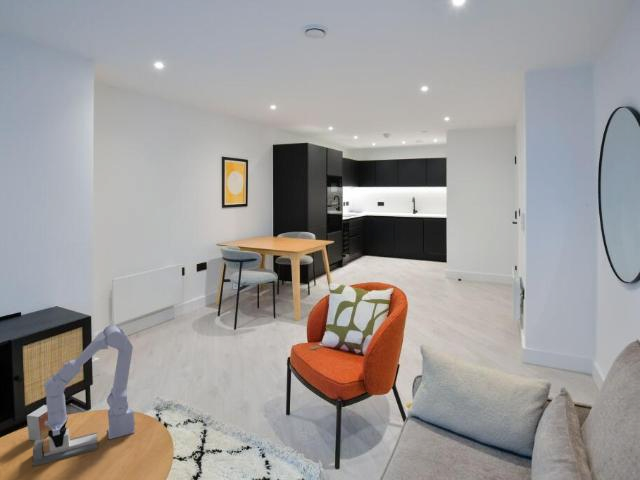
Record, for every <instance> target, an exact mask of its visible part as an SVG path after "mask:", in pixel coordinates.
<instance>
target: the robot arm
mask: <svg viewBox="0 0 640 480" xmlns="http://www.w3.org/2000/svg"><path fill="white" fill-rule="evenodd" d="M108 346H109V347H111V348H114V349H116V350H117V351H118V352H117V359H116V364H115V372H114V378H113V385H112V387H111V388H110V389H111V390H110V393H109V395H108V396H107V399H106V403H107V405H108V406H109V408H108V411H107V417H108V428H107V431H108V432H107V433H108V434H107V435H108V440H112V439H116V438H119V437H123V436H127V435H131V434H134V433H135V431H136V430H135V428H136V427H135V425H136V421H135V413H134V407H129V403H128V393H127V388H128V380H129V374H130V369H131V367H130V366H131V361H132V355H133V349H134V348H133V344H132V343H131V341H130V339H129V338H128V336H127V334H126V333H125V332H124V331H123V329H121V328H120V326H118V325H114V324H110V325H107V326H106V327H104V329H103V330H102V331H100V332H99V333H98V335H97V336H96V337H95V338H94V339H93V340H92V341H91V342H90V343H89V344H88V345H87V346H86V348H84V350H83V351H82V352H81V353H80V354H79V355H78V356H77V357H76V358H75V359H71V360H68V362H64V363H63V364H62V367H61V368H60V369H59V370H58V371H57V372H56V373H54V374H52V375H51V377H49V378H48V379H46V381H45V383H44V386H43V387H44V391H45V394H46V395H45V396H46V398H45V399H46V405H47V412H48V421H46V422H45V426H47V425H49V427H50V428H51V429H52V430H49V431H48V435H49V436H50V437H51V438H52V440H53V442H54V445H55V447H56V448H57V447H61V446H62V445H63V438H64V434H65V432H66V429H68V427H66V425H67V423H68V420H69V419H68V415H67V406H66V395H65V393H64V392H65V390H66V386H68V385H69V384H70V383H71V381H72V380H73V379H74V378H76V377H77V376H78V375H79V374H80V373H81V371H83V370H82V369H83V365H84V364H85V363H87V362H88V361H89V360H90V359H91V358H92V357H93V356H94V355H95V354H96V353H97V352H99V351H100V350H108V349H109V347H108ZM49 436H48V437H49Z"/></svg>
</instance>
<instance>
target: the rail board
mask: <svg viewBox="0 0 640 480" xmlns="http://www.w3.org/2000/svg"><path fill="white" fill-rule="evenodd" d="M44 440H45V439H41V440H37V441H34V444H33V448H32V457H33V460H32V461H33V463H32V467H36V466H40V465H44V464H47V463H51V462H55V461H58V460H62V459H66V458H69V457H73V456H77V455H80V454H83V453H88V452H91V451H96V450H98V432H97V431H96V432H93V433H89V434H85V435H81V436H78V437H73V438H70V444H69V447H67V448H64V449H60V450H56V451H52V452H50V451H48V452H44V453H43V444H44Z"/></svg>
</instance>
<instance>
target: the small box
mask: <svg viewBox="0 0 640 480" xmlns="http://www.w3.org/2000/svg"><path fill="white" fill-rule="evenodd" d="M26 421H27V423H26V424H27V431H28V433H27V434H28V440H30V441H34V442H35V441H37V440H41V439H44V440H46V438H48V437H49V435H48V431H49V430H52V429H51V428H50V427H49V425H47V426H45V422H46V421H48V412H47V404H43V405H42V406H40V407H39V408H37V409H36V410H34V411H32V412H31V413H29V414H27V415H26Z"/></svg>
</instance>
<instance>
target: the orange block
mask: <svg viewBox="0 0 640 480" xmlns="http://www.w3.org/2000/svg"><path fill="white" fill-rule="evenodd" d="M48 451H50V446H49V438H48V439H44V444H43V453H44V452H48Z"/></svg>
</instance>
